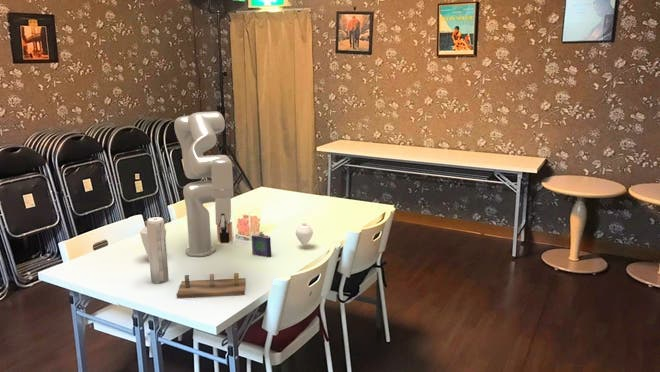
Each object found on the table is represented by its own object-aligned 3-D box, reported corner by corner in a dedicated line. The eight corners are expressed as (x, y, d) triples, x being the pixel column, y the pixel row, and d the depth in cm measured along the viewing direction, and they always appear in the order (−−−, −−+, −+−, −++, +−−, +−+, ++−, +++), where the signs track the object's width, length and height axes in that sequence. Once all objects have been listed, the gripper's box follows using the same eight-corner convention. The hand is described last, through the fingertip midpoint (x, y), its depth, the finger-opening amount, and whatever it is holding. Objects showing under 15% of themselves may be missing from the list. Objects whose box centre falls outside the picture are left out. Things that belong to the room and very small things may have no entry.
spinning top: (314, 245, 252) (313, 220, 249) (311, 251, 245) (311, 225, 242) (297, 244, 253) (297, 219, 250) (294, 250, 245) (294, 224, 243)
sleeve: (219, 240, 207) (218, 222, 206) (233, 239, 208) (232, 221, 206) (217, 244, 202) (216, 226, 200) (232, 244, 202) (231, 225, 201)
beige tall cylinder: (170, 277, 217) (166, 216, 211) (166, 283, 210) (161, 221, 205) (153, 277, 217) (148, 216, 211) (149, 284, 210) (143, 221, 204)
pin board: (181, 284, 210) (180, 269, 208) (245, 281, 212) (245, 267, 211) (176, 298, 198) (175, 282, 197) (244, 295, 201) (243, 279, 199)
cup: (160, 265, 229) (158, 234, 226) (137, 263, 231) (135, 232, 228) (172, 256, 239) (170, 226, 236) (150, 254, 241) (148, 224, 238)
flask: (251, 254, 241) (250, 231, 238) (254, 252, 243) (254, 229, 241) (269, 258, 237) (268, 234, 234) (272, 255, 239) (272, 232, 237)
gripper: (215, 187, 209) (217, 233, 213) (209, 198, 192) (212, 248, 196) (235, 187, 209) (237, 232, 213) (231, 197, 193) (234, 247, 197)
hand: (225, 239), depth 205 cm, fingers closed on sleeve, 5 cm apart
